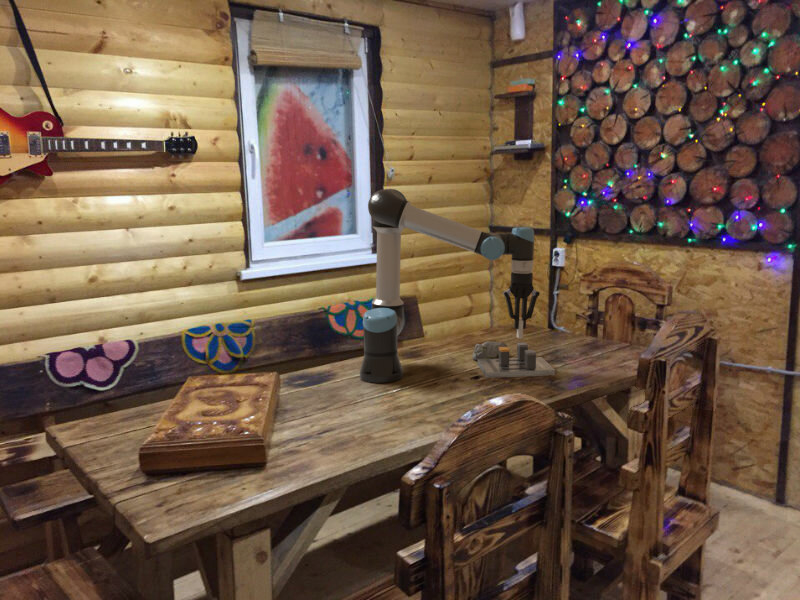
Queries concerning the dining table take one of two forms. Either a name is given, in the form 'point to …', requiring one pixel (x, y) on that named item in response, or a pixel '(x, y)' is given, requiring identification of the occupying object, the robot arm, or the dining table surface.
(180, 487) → the dining table surface
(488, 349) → the mineral specimen
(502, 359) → the breaker middle
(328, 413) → the dining table surface
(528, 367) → the breaker near
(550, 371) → the panel
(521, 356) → the breaker far
